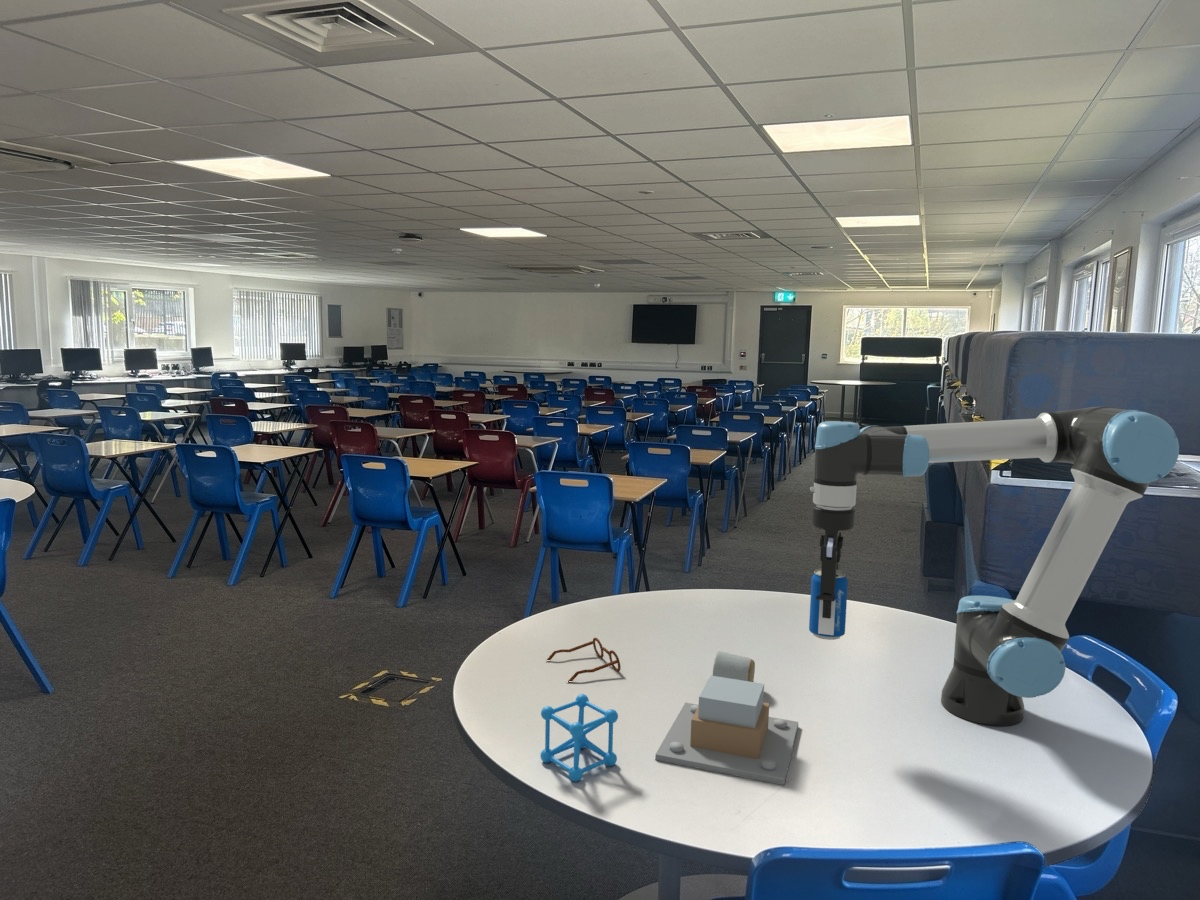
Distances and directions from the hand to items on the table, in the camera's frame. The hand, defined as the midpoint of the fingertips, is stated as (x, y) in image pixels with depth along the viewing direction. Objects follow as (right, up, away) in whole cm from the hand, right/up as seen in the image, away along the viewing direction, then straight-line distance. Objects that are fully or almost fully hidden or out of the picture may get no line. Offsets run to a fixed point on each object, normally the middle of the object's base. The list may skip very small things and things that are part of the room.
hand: (827, 627), depth 150 cm
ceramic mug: (-14, -17, +21) cm, 31 cm away
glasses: (-46, -16, +29) cm, 57 cm away
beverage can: (0, -2, 0) cm, 2 cm away
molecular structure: (-46, -21, -12) cm, 52 cm away
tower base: (-19, -20, -4) cm, 28 cm away
